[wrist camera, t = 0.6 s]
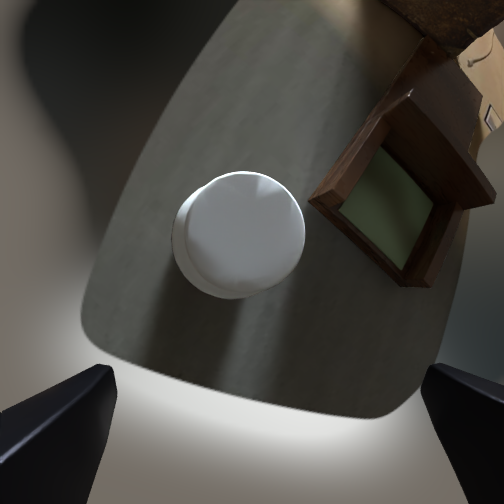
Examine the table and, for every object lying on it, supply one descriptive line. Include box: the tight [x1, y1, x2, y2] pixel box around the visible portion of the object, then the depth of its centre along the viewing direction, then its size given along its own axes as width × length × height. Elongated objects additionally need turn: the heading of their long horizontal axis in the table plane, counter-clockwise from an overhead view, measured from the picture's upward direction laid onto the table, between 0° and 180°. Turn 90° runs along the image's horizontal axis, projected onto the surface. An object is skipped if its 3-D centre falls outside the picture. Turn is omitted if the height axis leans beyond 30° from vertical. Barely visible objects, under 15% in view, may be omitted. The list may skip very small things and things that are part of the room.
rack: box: [308, 35, 496, 288], centre depth 23 cm, size 30×11×8 cm, turn 143°
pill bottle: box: [171, 172, 305, 299], centre depth 16 cm, size 6×6×10 cm
